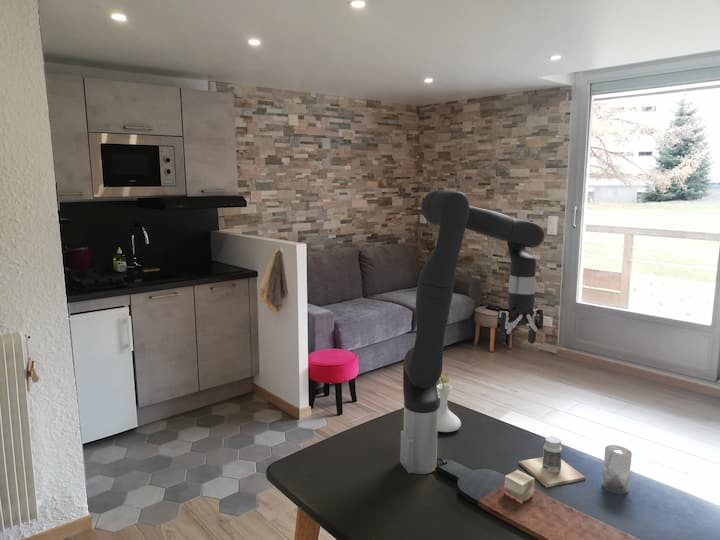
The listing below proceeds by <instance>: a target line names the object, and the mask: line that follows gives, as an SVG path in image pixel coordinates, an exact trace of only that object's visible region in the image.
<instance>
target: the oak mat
mask: <svg viewBox="0 0 720 540" xmlns="http://www.w3.org/2000/svg"><path fill="white" fill-rule="evenodd" d="M518 464H519V465H520V466H521V468H523V469H524V470H526V471H527V473H529V475H530V476H532V477H533V478H535V479H536V480H537V481H538V482H539V483H541V484H542V485H543V486H545V487H546V488H550V487H554V486H560V485H566V484H570V483H575V482H581V481H585V480H586V476H585V475H583V474H582V473H581V472H579V471H578V470H577V469H575V468H574V467H573V466H571V465H570V464H568V463H566V461H564V460H563V459H561V470H560V472H557V473H552V472H548V471H546V470H544V469H543V466H542V464H543V456H541V457H535V458H529V459H525V460H524V459H523V460H519V461H518Z"/></svg>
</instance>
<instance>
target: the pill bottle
mask: <svg viewBox="0 0 720 540" xmlns="http://www.w3.org/2000/svg"><path fill="white" fill-rule="evenodd" d="M542 449H543V450H542V457H543V464H542V466H543V469H544V470H546V471H548V472H552V473H557V472H560V470H561V460H563V459H562V456H563V448H562V440H561V439H560V438H559V437H556V436H549V435H548V436H546V437H545V439H544V445H543V448H542Z"/></svg>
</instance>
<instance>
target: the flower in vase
mask: <svg viewBox="0 0 720 540" xmlns="http://www.w3.org/2000/svg"><path fill="white" fill-rule="evenodd" d="M449 381H450V379H449V374H448V373H447V372H446V373H444V374H443V375H441V376H440V379H439V380H438V382H437V391H438V393H439V401H440V402H439V406H438V431H437V432H440V433H450V432H455V431H458V430H459V429H460V427H461V426H462V422H461V420H460V419H459V417H458V416H457V415H456V414H454V413H453V412H452V411H451V410H450V408H449V407H448V398H449V393H450V391H451V390H452V389H453V386H452V385H451V384H448V383H449Z"/></svg>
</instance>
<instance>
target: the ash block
mask: <svg viewBox="0 0 720 540" xmlns="http://www.w3.org/2000/svg"><path fill="white" fill-rule="evenodd" d="M535 479H536V478H535V477H534V476H532V475H530V474H527V473H525V472H523V471H522V470H521V471H520V469H516V470H514V471H512V472H510V473H508V474H506V475H505V476H504V486H503V487H504V490H503V492H504V491H506V492H508V493H509V494H511V495H512V496H514V497H516V498H517V499H519V500H521V501H522V500H523V499H525V498H527V497H528V496H530V495H532V494H535V493H534V492H535V491H534V490H535Z"/></svg>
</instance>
